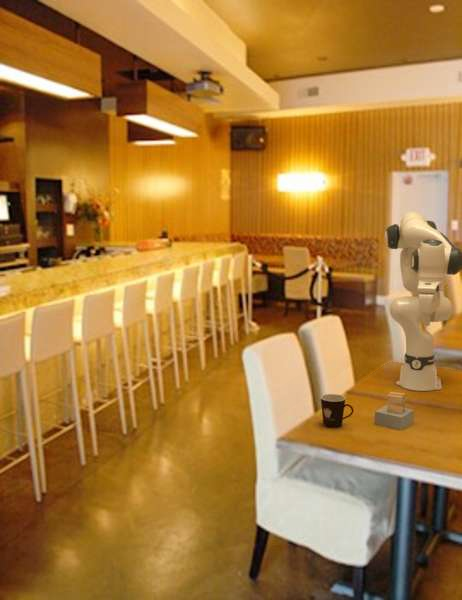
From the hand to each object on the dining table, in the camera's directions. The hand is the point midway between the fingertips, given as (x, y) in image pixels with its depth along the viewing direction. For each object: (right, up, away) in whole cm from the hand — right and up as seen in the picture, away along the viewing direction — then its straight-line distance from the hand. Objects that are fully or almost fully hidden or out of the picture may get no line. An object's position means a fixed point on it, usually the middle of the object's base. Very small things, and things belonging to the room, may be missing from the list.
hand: (429, 323), depth 217 cm
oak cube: (-14, -31, -5) cm, 34 cm away
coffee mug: (-35, -36, -6) cm, 51 cm away
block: (-14, -36, -4) cm, 38 cm away
